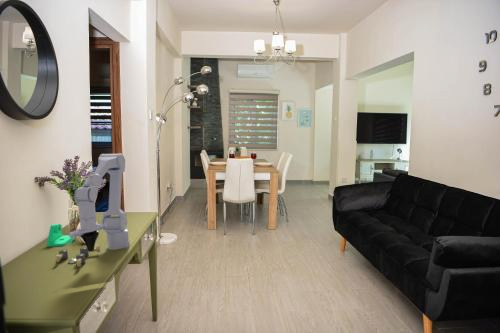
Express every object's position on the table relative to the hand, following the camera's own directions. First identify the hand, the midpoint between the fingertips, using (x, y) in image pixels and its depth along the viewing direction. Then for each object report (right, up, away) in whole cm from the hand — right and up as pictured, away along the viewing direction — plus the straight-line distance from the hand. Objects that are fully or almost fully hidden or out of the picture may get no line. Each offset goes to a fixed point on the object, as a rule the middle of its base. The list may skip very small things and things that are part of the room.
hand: (90, 250), depth 134 cm
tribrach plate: (-10, -7, +6) cm, 13 cm away
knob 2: (-5, -6, +1) cm, 8 cm away
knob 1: (-15, -6, +7) cm, 18 cm away
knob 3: (-6, -5, +12) cm, 14 cm away
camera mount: (-28, -5, +30) cm, 41 cm away
